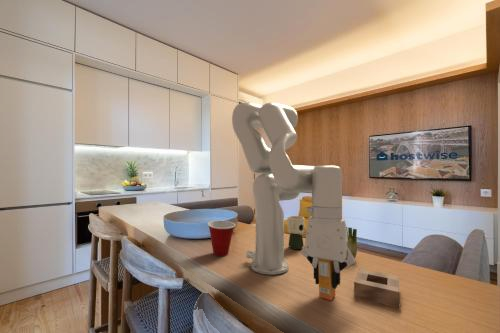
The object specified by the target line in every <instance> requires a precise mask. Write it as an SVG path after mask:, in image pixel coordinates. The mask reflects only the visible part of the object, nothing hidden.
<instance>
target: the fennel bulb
mask: <svg viewBox="0 0 500 333" xmlns="http://www.w3.org/2000/svg"><path fill="white" fill-rule="evenodd" d="M346 229H347V237H348V248H349V250H350V252H351V254H352V255H353V257H354V259H355V260H356V257H357V253H358V252H357V251H358V242H357V232H358V231H357V230H358V229H357V228H353V227H348V226H346ZM345 260H347V257H346V259H345Z"/></svg>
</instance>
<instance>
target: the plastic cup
mask: <svg viewBox="0 0 500 333" xmlns="http://www.w3.org/2000/svg"><path fill="white" fill-rule="evenodd" d="M207 226H208V228H209V233H210V243H211V247H212V254H213V255H214V256H216V257H225V256H228V255H229V253H230V246H231V241H232V236H233V231H234V228H235V227H236V223H235V222H232V221H227V220H212V221H209V222H207Z"/></svg>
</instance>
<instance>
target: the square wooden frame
mask: <svg viewBox="0 0 500 333" xmlns="http://www.w3.org/2000/svg"><path fill="white" fill-rule="evenodd" d="M353 296H354V297H355V298H358V299H364V300H368V301H371V302H375V303H379V304H382V305H387V306H391V307H395V308H398V309H400V308H401V307H400V276H397V275H392V274H391V275H390V274H387V273H381V272H376V271H372V270H366V269H361V268H358V271H357V273H356V276H355V278H354V281H353Z"/></svg>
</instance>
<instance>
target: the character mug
mask: <svg viewBox="0 0 500 333" xmlns="http://www.w3.org/2000/svg"><path fill="white" fill-rule="evenodd" d="M305 222H306V221H305V217H304V216H300V215H289V216H287V232H288V233H290V234H289V238H288V247H289V248H292V249H294V250H300V249H301V250H302V249H303V248H304V239H303V235H302V234H304V233H305V232H306V231H305Z"/></svg>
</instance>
